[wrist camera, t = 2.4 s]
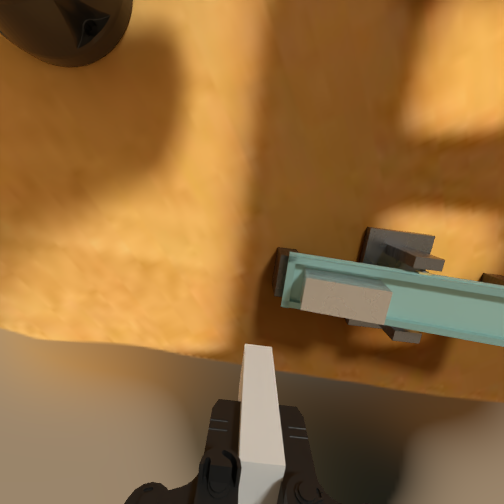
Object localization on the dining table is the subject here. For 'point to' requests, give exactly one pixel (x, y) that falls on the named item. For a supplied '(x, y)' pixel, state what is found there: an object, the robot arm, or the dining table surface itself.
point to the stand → (388, 255)
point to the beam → (417, 298)
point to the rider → (345, 296)
